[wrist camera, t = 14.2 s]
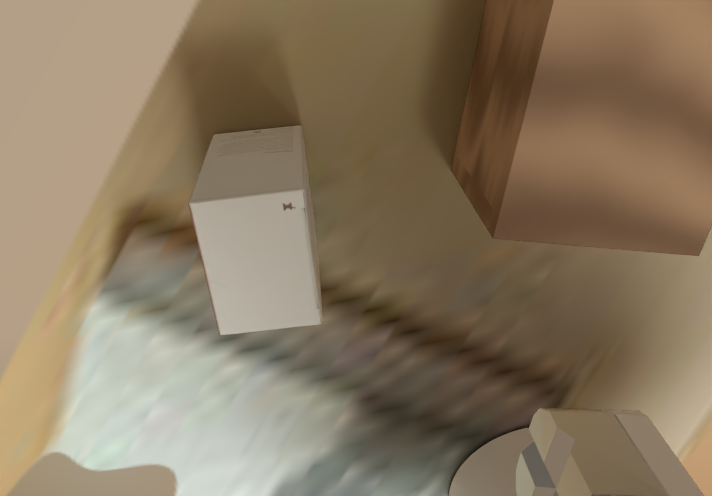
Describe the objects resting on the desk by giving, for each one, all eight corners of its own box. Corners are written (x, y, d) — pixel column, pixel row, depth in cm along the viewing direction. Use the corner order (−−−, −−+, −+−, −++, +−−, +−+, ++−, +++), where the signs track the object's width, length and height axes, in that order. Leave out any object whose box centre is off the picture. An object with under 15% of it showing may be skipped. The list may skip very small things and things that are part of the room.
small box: (212, 131, 38) (184, 198, 29) (303, 122, 38) (305, 185, 29) (235, 247, 42) (216, 339, 33) (318, 238, 42) (323, 327, 33)
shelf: (614, 186, 42) (698, 256, 33) (450, 170, 41) (493, 238, 32) (693, -45, 36) (822, -35, 27) (502, -74, 34) (572, -74, 25)
